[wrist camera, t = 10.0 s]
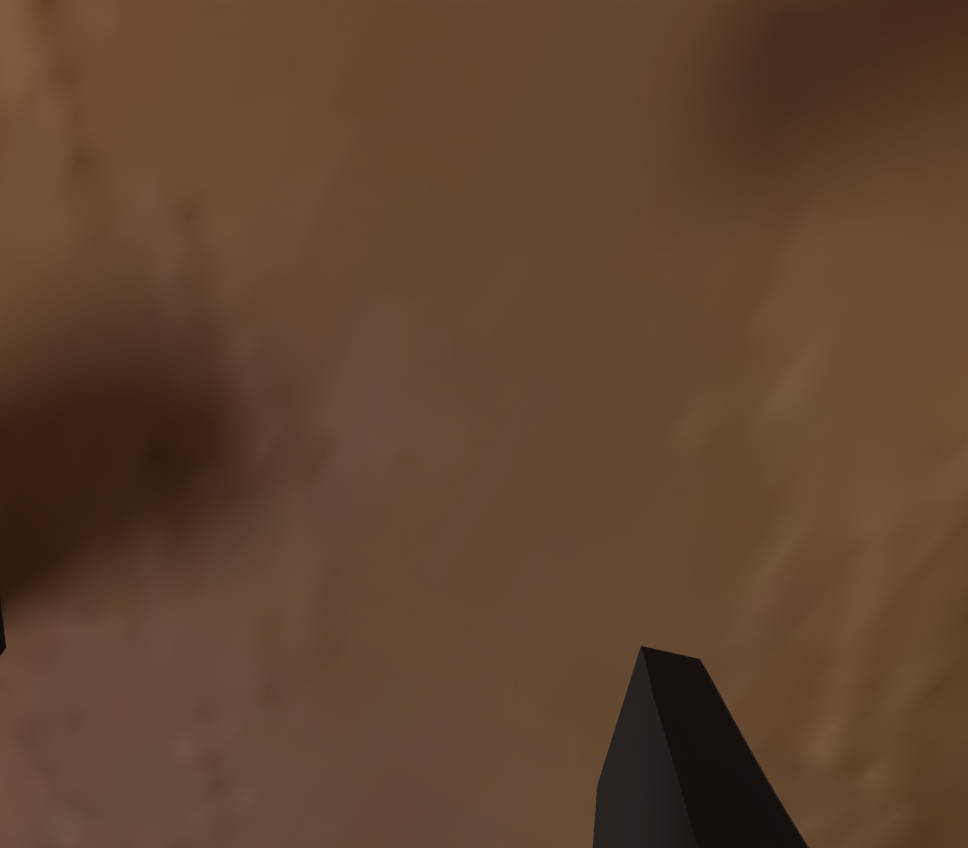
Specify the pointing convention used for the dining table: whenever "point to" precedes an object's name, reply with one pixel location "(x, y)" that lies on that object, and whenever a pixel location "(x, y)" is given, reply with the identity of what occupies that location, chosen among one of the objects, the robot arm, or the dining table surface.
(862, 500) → the dining table surface
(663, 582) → the dining table surface
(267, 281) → the dining table surface
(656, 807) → the robot arm
